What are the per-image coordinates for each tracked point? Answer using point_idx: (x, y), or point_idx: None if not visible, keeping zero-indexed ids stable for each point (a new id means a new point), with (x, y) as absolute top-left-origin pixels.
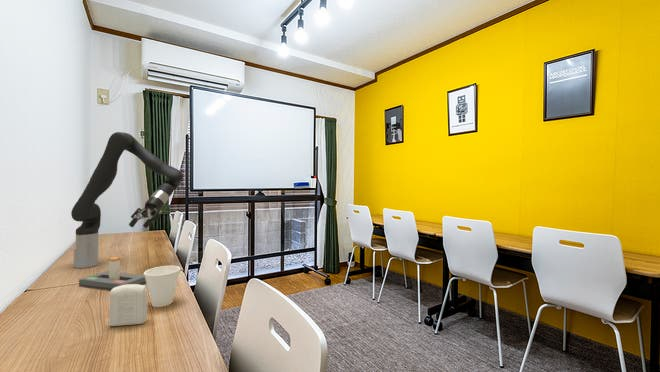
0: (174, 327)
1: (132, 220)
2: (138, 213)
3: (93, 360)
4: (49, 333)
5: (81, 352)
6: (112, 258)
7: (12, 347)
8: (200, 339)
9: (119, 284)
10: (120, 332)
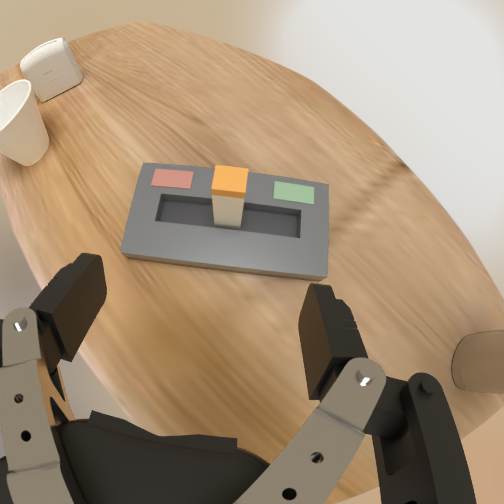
0: None
1: (335, 328)
2: (330, 442)
3: None
4: (152, 47)
5: (84, 45)
6: (233, 172)
7: (168, 29)
8: None
9: (156, 163)
10: None
